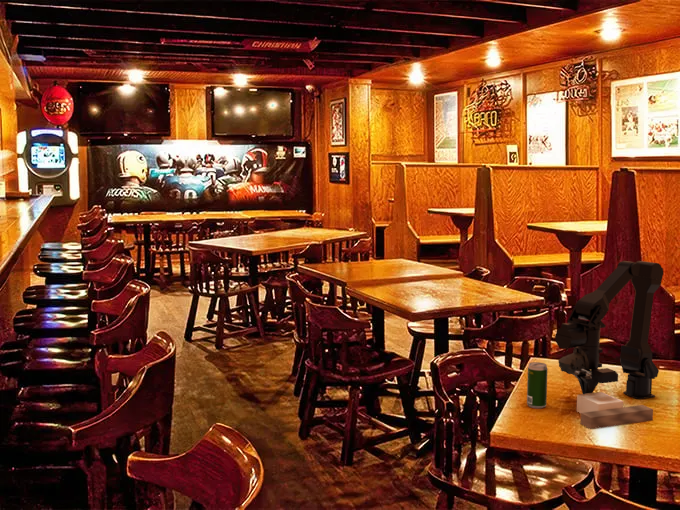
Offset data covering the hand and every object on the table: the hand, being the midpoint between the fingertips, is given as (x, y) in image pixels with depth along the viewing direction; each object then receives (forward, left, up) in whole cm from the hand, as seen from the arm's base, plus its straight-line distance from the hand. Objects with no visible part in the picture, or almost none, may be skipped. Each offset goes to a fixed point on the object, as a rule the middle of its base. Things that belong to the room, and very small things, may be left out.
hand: (586, 399), depth 215 cm
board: (0, +13, -3) cm, 13 cm away
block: (0, +6, -3) cm, 7 cm away
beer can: (+12, -6, -3) cm, 14 cm away
